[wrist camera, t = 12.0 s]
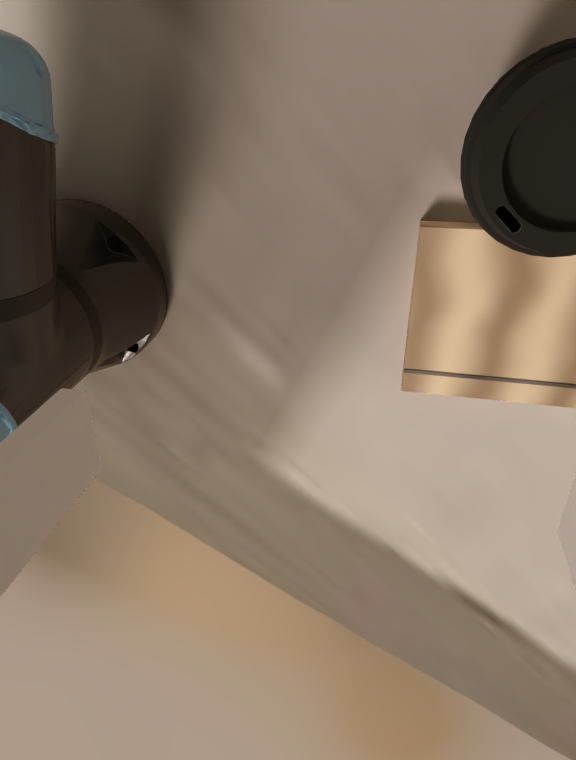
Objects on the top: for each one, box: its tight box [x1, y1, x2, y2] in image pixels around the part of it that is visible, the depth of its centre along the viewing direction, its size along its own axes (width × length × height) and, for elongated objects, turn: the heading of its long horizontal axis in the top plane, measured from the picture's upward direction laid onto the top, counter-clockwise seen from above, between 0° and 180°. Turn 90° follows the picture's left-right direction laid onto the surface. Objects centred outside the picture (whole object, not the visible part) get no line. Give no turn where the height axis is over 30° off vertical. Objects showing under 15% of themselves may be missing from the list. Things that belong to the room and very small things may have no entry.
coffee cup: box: [461, 38, 576, 258], centre depth 31 cm, size 10×10×15 cm
